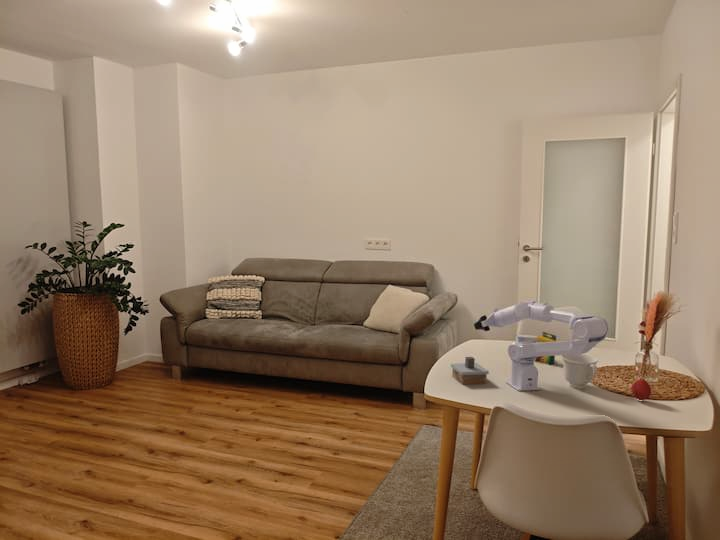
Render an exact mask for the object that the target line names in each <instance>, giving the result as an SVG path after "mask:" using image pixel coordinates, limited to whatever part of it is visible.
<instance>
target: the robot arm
mask: <svg viewBox="0 0 720 540" xmlns="http://www.w3.org/2000/svg"><path fill="white" fill-rule="evenodd" d="M526 319H531V320H534V321H538V322H544V323H551V322H552V321H557V322H561V323H566V324H569V329H570V331H571V334H570V339H568V340H567V339H566V340H556V341H552V342H536V341H534V340H529V341H523V342H515V341H514V342H511V343H509V345H508V348H507V354H508V357H509V359H510V361H511V369H510V371H511V373H510V380H505V383H507V384H508V385H509V386H510V387H512V388H514V389H515V390H517V391H518V392H519V391H522V392H523V391H539V390H540V387H538V383H539V381H538V380H539V371H538V369H537V367H536V365H535V361H536V357H537V356H555V357H556V356H562V355H576V354H583V355H585V354H587V353H588V352H589V351H590V350H592V349H593V348H594V347H595V346H597V345H598V344H599V343H600V342H602V341H603V342H604V340H606V338H607V335H608V333H609V330H610V326H609V322H608V321H607V320H606V318H604V317H602V316H595V315H593V314H591V313H590V314H589V313H584V312H576V311H571V310H570V311H568V310H560V309H555V308H554V306H552V305H550V304H549V303H548V302H542V303H539V302H536V301H535V300H527V301H520V302H517V303H516V304H514V305H511V306H508V307H504V308H503V309H498V307H495V308H493V309H492V313H491V314H490V315H489V316H488V317H487V315H486V314H485V315H482V316H480V317H479V319H478V320H476V322H475V323H473V326H474V329H475V330H483V331H484V332H489V331H491V328H490V327H492V328H493V327H494V328H503V327H504V326H507V325H511V324H513V323H518V322H521V321H522V320H526Z"/></svg>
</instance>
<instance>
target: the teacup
mask: <svg viewBox="0 0 720 540" xmlns="http://www.w3.org/2000/svg"><path fill="white" fill-rule="evenodd" d="M560 357H561V359H562V362H563V364H562V365H563V366H562V367H563V375H564V377H563V378H565V380H566V381H567V382H568V386H569V387H571V388H575V389H585V387H587V385H588V384H589V383H591V381H592V380H593V378H595V377H596V376H597V375H598V367H597V365H596V364H597V363H598V362H599V359H597V358H596V357H594V356H591V355H588V354H576V355H560Z"/></svg>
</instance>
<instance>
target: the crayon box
mask: <svg viewBox="0 0 720 540" xmlns="http://www.w3.org/2000/svg"><path fill="white" fill-rule="evenodd" d="M548 335H549V336H548ZM536 337H537V342H552V341H557V336H556V335H555V334H553V333H552V334H551V333H548V332H545V331H542V335H540V336H539V335H537V336H536ZM555 358H556V356H537V357H536V358H535V361H539V362H541V363H543V364H547V365H550V366H551V365H554V364H555Z"/></svg>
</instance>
